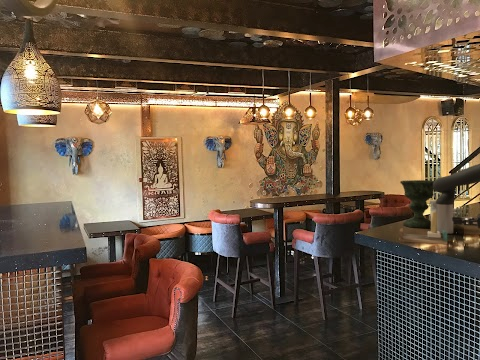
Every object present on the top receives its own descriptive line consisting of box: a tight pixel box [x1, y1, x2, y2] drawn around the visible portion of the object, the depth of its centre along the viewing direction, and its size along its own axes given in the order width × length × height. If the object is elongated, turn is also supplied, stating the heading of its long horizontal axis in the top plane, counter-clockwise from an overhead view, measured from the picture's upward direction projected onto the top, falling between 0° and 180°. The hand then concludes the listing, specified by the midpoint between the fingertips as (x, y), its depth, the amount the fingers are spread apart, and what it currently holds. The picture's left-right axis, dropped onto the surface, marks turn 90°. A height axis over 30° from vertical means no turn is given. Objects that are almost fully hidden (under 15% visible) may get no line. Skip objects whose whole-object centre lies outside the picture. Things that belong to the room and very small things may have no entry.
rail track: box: [399, 228, 448, 245], centre depth 216 cm, size 10×23×6 cm, turn 66°
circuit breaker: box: [428, 199, 455, 221], centre depth 277 cm, size 8×14×15 cm, turn 89°
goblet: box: [399, 179, 435, 229], centre depth 262 cm, size 22×23×30 cm
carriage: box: [427, 212, 442, 238], centre depth 213 cm, size 7×6×13 cm
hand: (452, 220), depth 210 cm, fingers open, 8 cm apart
